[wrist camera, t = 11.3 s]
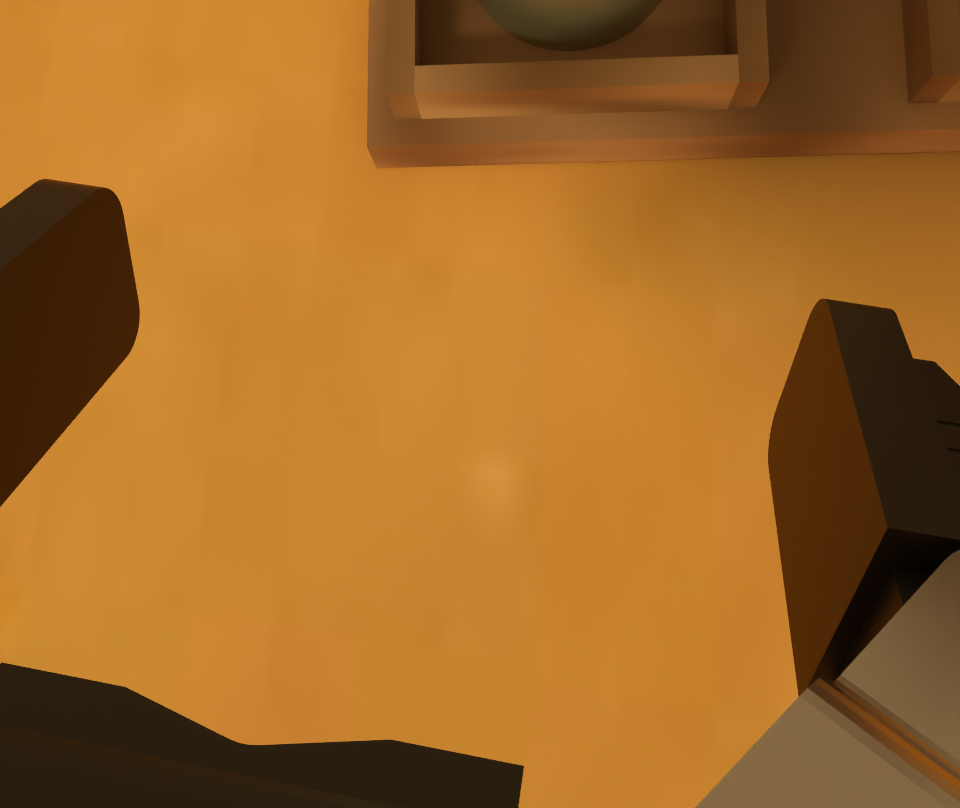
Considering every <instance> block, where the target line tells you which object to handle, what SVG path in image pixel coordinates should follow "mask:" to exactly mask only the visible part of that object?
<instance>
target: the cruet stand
mask: <svg viewBox="0 0 960 808" xmlns="http://www.w3.org/2000/svg"><path fill="white" fill-rule="evenodd" d="M367 147H368V150H369V152H370V154H371V156H372V159H373V161H374V163H375V165H376V168H393V167H428V166H463V165H497V164H532V163H567V162H602V161H636V160H671V159H706V158H741V157H775V156H810V155H845V154H880V153H914V152H949V151H960V0H661V1H660V3H659V4H658V6H657V7H656V9H655V10H654V11H653V12H652V14H651V15H650V16H649V17H648V18H647V19H646V20H645V21H644V22H643V23H642V24H641V25H639V26H638V27H637V28H636V29H634V30H633V31H631V32H630V33H628V34H627V35H625V36H624V37H622V38H620V39H618V40H616V41H614V42H612V43H609V44H606V45H603V46H600V47H596V48H591V49H587V50H578V51H557V50H551V49H545V48H541V47H538V46H534V45H531V44H529V43H526V42H524V41H522V40H519V39H518V38H516V37H514V36H512V35H511V34H509V33H508V32H506V31H505V30H504V29H502V28H501V27H500V26H499V25H497V24H496V23H495V22H494V21H493V19H492V18H491V17H490V16H489V15H488V14H487V13H486V11H485V10H484V9H483V7H482V6H481V4H480V2H479V1H478V0H369V39H368V121H367Z"/></svg>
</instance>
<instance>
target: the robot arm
mask: <svg viewBox="0 0 960 808" xmlns="http://www.w3.org/2000/svg"><path fill="white" fill-rule="evenodd" d="M139 317H140V311H139V301H138V295H137V290H136V284H135V278H134V272H133V267H132V261H131V255H130V250H129V244H128V238H127V232H126V227H125V221H124V215H123V210H122V207H121V204H120V201H119V199H118V197H117V196H116V194H115V193H114V192H113V191H111V190H110V189H108V188H103V187H96V186H90V185H83V184H76V183H70V182H63V181H57V180H50V179H42V180H39V181H37V182H36V183H34V184H33V185H31V186H30V187H29V188H27V189H26V190H25V191H23V192H22V193H21V194H19V195H18V196H17V197H15V198H14V199H12V200H11V201H10V202H8V203H7V204H6V205H4V206H3V207H2V208H0V507H1V505H2V504H3V503H4V502H5V501H6V499H7V498H8V497H9V496H10V495H11V494H12V492H13V491H14V490H15V489H16V488H17V486H18V485H19V484H20V483H21V482H22V480H23V479H24V478H25V477H26V476H27V475H28V473H29V472H30V471H31V470H32V469H33V467H34V466H35V465H36V464H37V463H38V461H39V460H40V459H41V458H42V457H43V456H44V454H45V453H46V452H47V451H48V450H49V448H50V447H51V446H52V445H53V444H54V443H55V441H56V440H57V439H58V438H59V437H60V435H61V434H62V433H63V432H64V431H65V429H66V428H67V427H68V426H69V425H70V424H71V422H72V421H73V420H74V419H75V418H76V416H77V415H78V414H79V413H80V412H81V410H82V409H83V408H84V407H85V406H86V405H87V403H88V402H89V401H90V400H91V399H92V397H93V396H94V395H95V394H96V393H97V392H98V390H99V389H100V388H101V387H102V386H103V384H104V383H105V382H106V381H107V380H108V378H109V377H110V376H111V375H112V374H113V373H114V371H115V370H116V369H117V368H118V367H119V365H120V364H121V363H122V362H123V361H124V359H125V358H126V357H127V356H128V354H129V353H130V351H131V349H132V347H133V345H134V342H135V339H136V336H137V332H138V327H139ZM768 464H769V473H770V481H771V488H772V496H773V504H774V511H775V519H776V526H777V534H778V542H779V549H780V557H781V565H782V572H783V580H784V587H785V595H786V603H787V610H788V618H789V626H790V633H791V641H792V649H793V656H794V664H795V671H796V679H797V687H798V694H799V697H798V698H797V699H796V700H795V701H794V703H793V704H792V705H791V706H790V707H789V708H788V709H787V710H786V711H785V712H784V713H783V714H782V715H781V716H780V718H779V719H778V720H777V721H776V722H775V723H774V724H773V725H772V726H771V727H770V728H769V729H768V730H767V731H766V733H765V734H764V735H763V736H762V737H761V738H760V739H759V740H758V741H757V742H756V743H755V744H754V745H753V746H752V748H751V749H750V750H749V751H748V752H747V753H746V754H745V755H744V756H743V757H742V758H741V759H740V760H739V761H738V763H737V764H736V765H735V766H734V767H733V768H732V769H731V770H730V771H729V772H728V773H727V774H726V775H725V776H724V778H723V779H722V780H721V781H720V782H719V783H718V784H717V785H716V786H715V787H714V788H713V789H712V790H711V791H710V793H709V794H708V795H707V796H706V797H705V798H704V799H703V800H702V801H701V802H700V803H699V804H698V805H697V806H696V808H960V386H959V385H958V384H957V383H956V382H955V381H954V380H953V379H952V378H951V377H950V376H949V375H948V374H947V373H946V372H945V371H944V370H943V369H942V368H941V367H939V366H938V365H937V364H936V363H935V362H933V361H926V360H920V359H914V358H913V357H912V355H911V352H910V349H909V347H908V344H907V341H906V339H905V336H904V333H903V331H902V328H901V326H900V323H899V320H898V318H897V315H896V313H895V312H894V311H893V310H892V309H888V308H881V307H875V306H868V305H861V304H855V303H848V302H842V301H835V300H829V299H820V300H819V301H818V302H817V303H816V305H815V306H814V308H813V310H812V312H811V314H810V316H809V319H808V322H807V324H806V327H805V330H804V333H803V336H802V338H801V341H800V344H799V347H798V350H797V352H796V355H795V358H794V361H793V364H792V366H791V369H790V372H789V375H788V378H787V380H786V383H785V386H784V389H783V392H782V394H781V397H780V400H779V403H778V406H777V408H776V412H775V415H774V419H773V423H772V427H771V433H770V439H769V449H768ZM523 769H524V766H521V765H516V764H511V763H506V762H501V761H496V760H491V759H486V758H481V757H476V756H471V755H465V754H460V753H455V752H450V751H445V750H440V749H435V748H430V747H425V746H420V745H415V744H410V743H405V742H400V741H395V740H372V741H349V742H325V743H301V744H278V745H246V744H241V743H238V742H235V741H232V740H230V739H228V738H226V737H224V736H222V735H220V734H218V733H216V732H214V731H212V730H210V729H208V728H206V727H204V726H202V725H200V724H198V723H196V722H194V721H192V720H190V719H188V718H186V717H184V716H182V715H180V714H178V713H176V712H174V711H172V710H170V709H168V708H166V707H164V706H162V705H160V704H158V703H156V702H154V701H152V700H150V699H148V698H146V697H144V696H142V695H140V694H138V693H136V692H134V691H132V690H130V689H128V688H126V687H122V686H117V685H112V684H107V683H102V682H97V681H92V680H87V679H82V678H77V677H72V676H67V675H62V674H57V673H52V672H47V671H42V670H36V669H31V668H26V667H21V666H16V665H11V664H6V663H1V664H0V808H519V807H518V805H519V798H520V790H521V783H522V776H523Z"/></svg>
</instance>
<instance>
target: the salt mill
mask: <svg viewBox="0 0 960 808" xmlns="http://www.w3.org/2000/svg"><path fill="white" fill-rule="evenodd" d="M478 1H479V2H480V4H481V6H482V7H483V9H484V10H485V11H486V13H487V14H488V15H489V16H490V17H491V18H492V19H493V21H494V22H495V23H496V24H497V25H499V26H500V27H501V28H502V29H504V30H505V31H506V32H508V33H509V34H511V35H512V36H514V37H516V38H518V39H519V40H522V41H524V42H526V43H529V44H531V45H534V46H538V47H541V48H545V49H551V50H557V51H578V50H587V49H591V48H596V47H600V46H603V45H606V44H609V43H612V42H614V41H616V40H618V39H620V38H622V37H624V36H625V35H627V34H628V33H630V32H631V31H633V30H634V29H636V28H637V27H638V26H639V25H641V24H642V23H643V22H644V21H645V20H646V19H647V18H648V17H649V16H650V15H651V14H652V12H653V11H654V10H655V9H656V7H657V6H658V4H659V3H660V1H661V0H478Z"/></svg>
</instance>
